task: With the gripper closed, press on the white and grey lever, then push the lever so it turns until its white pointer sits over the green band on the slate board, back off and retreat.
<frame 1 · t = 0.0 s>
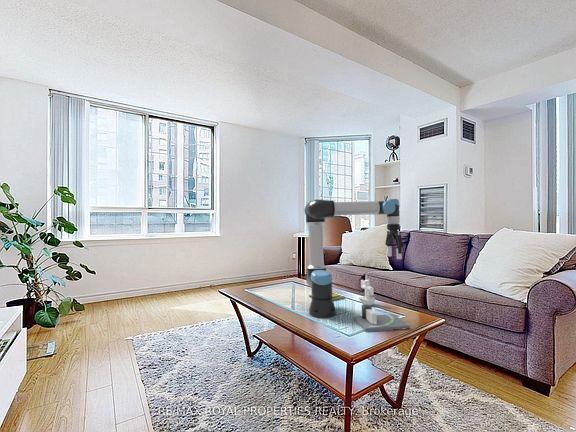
hand: (394, 257, 188), 28 cm above the table, tool pointing down, fingers open, 13 cm apart
wooden puzzle: (326, 298, 204), on the table
tuner board: (380, 323, 151), on the table
white and grey lever: (370, 314, 151), point 5 cm above the table, hinge at 0.0°
figurine: (367, 304, 185), on the table
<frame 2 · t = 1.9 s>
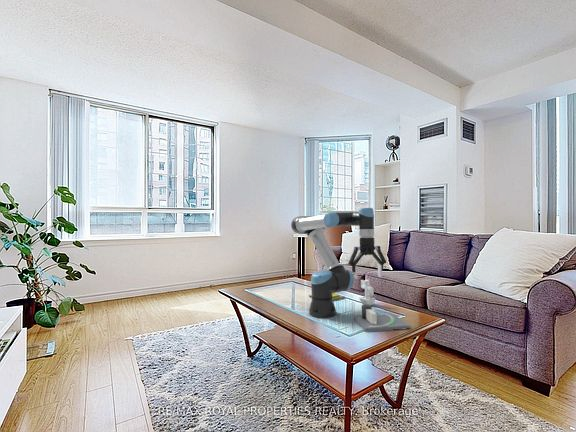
hand: (367, 277, 158), 22 cm above the table, tool pointing down, fingers open, 13 cm apart
nothing on the table moved.
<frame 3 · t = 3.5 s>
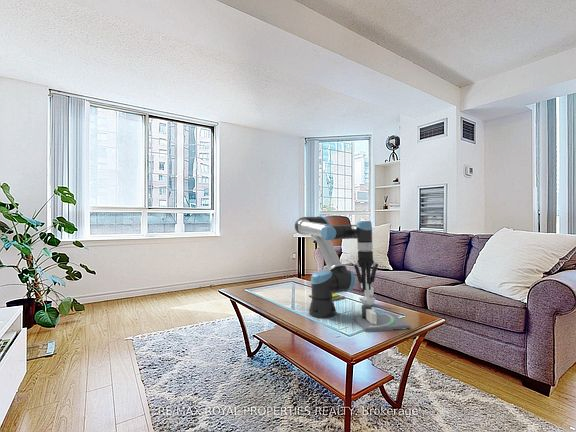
hand: (366, 296, 155), 13 cm above the table, tool pointing down, fingers closed
nothing on the table moved.
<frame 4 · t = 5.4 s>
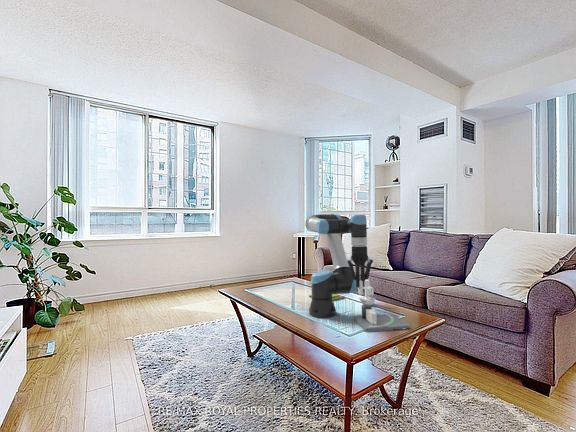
hand: (360, 293, 148), 16 cm above the table, tool pointing down, fingers closed
nothing on the table moved.
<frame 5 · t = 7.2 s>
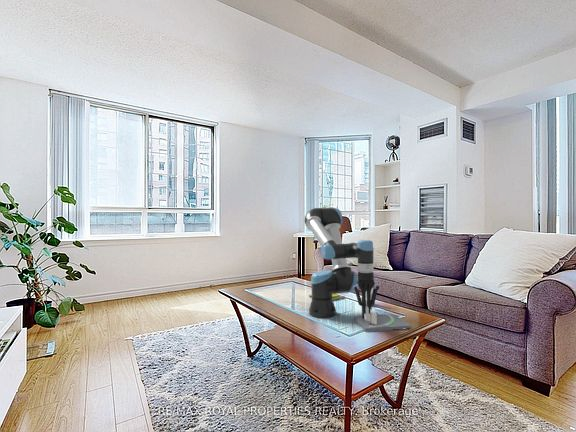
hand: (366, 319, 148), 3 cm above the table, tool pointing down, fingers closed
white and grey lever: (370, 314, 151), point 5 cm above the table, hinge at 0.5°, touching gripper
everything else where it was.
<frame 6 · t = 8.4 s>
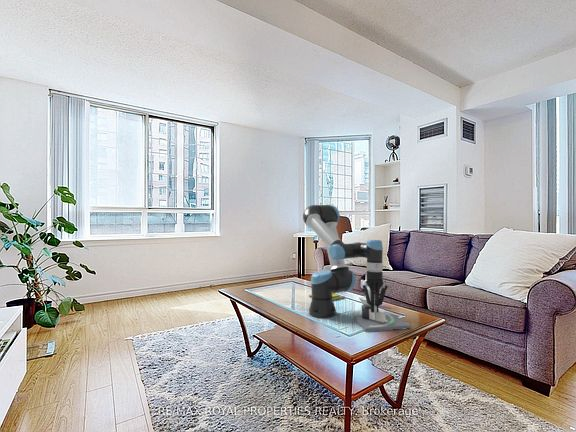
hand: (374, 318, 148), 3 cm above the table, tool pointing down, fingers closed
white and grey lever: (374, 313, 152), point 5 cm above the table, hinge at 35.9°, touching gripper
everything else where it was.
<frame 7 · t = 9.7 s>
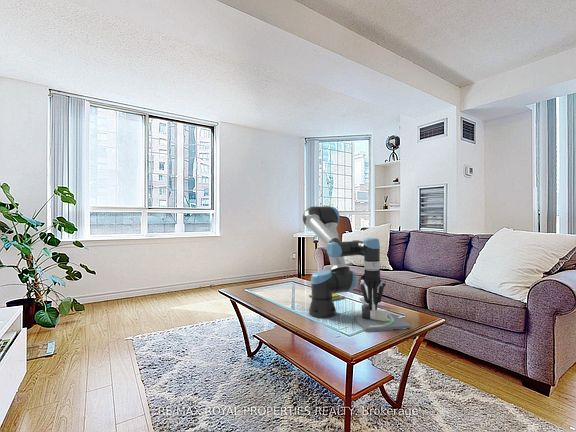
hand: (372, 316, 149), 4 cm above the table, tool pointing down, fingers closed
white and grey lever: (375, 312, 153), point 5 cm above the table, hinge at 50.6°
everything else where it was.
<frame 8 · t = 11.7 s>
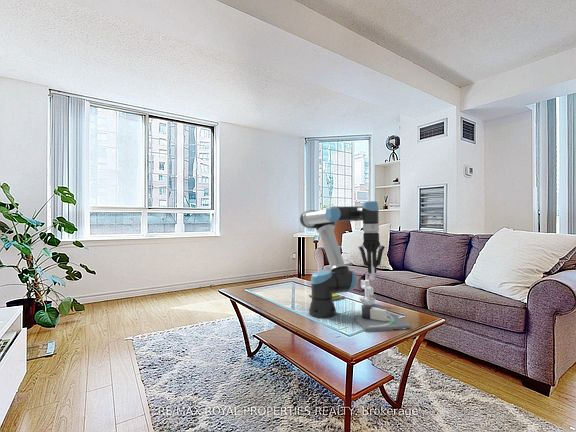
hand: (372, 279, 149), 22 cm above the table, tool pointing down, fingers closed
nothing on the table moved.
at the end: white and grey lever at +51° (first picture: +0°) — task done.
